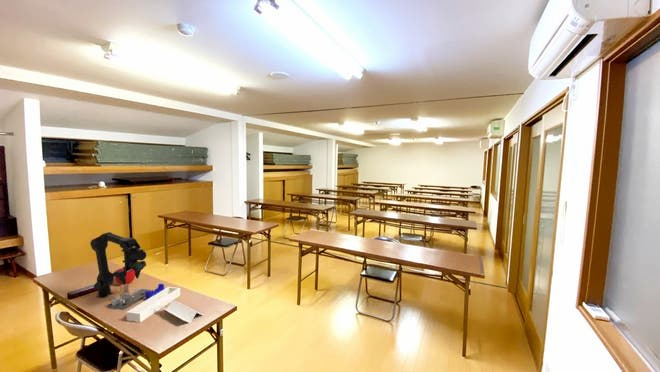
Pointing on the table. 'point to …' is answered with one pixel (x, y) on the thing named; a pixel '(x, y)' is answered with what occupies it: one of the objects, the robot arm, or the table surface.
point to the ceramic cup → (129, 276)
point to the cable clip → (159, 289)
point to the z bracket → (181, 311)
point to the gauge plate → (128, 299)
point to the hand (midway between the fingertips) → (131, 281)
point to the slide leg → (125, 291)
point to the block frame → (152, 304)
